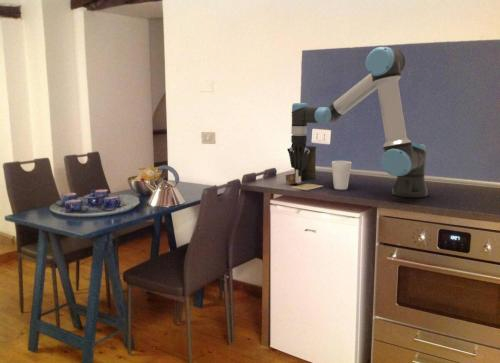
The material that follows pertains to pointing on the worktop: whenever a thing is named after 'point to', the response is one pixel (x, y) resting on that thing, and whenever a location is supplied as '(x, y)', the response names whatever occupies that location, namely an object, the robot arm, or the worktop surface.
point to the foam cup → (341, 174)
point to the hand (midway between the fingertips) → (298, 182)
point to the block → (290, 179)
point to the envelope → (307, 186)
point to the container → (310, 166)
